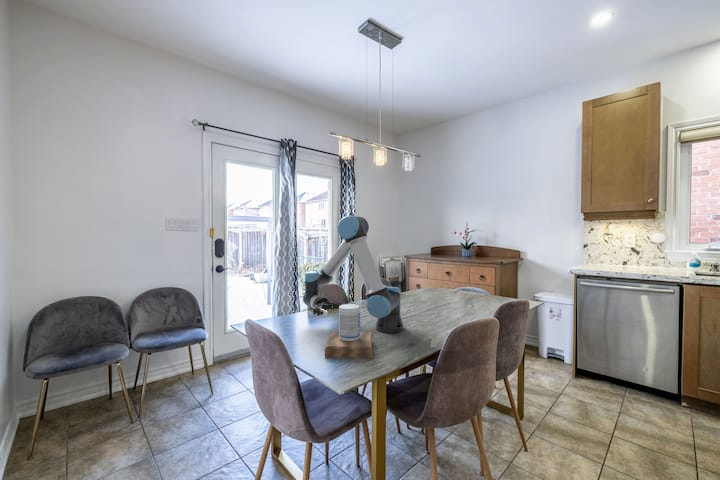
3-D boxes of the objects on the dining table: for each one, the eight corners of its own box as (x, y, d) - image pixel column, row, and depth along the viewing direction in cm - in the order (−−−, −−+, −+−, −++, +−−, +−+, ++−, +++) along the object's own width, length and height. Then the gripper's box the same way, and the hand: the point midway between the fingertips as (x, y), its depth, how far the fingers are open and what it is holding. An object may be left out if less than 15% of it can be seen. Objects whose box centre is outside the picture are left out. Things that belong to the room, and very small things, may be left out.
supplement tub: (363, 340, 137) (363, 307, 136) (342, 343, 133) (342, 309, 132) (355, 333, 146) (355, 302, 145) (336, 336, 142) (336, 304, 142)
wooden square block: (371, 341, 149) (371, 331, 149) (372, 358, 129) (372, 347, 129) (330, 341, 150) (330, 331, 149) (324, 358, 130) (324, 346, 129)
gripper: (340, 307, 171) (361, 315, 153) (297, 313, 157) (315, 324, 139) (340, 293, 171) (361, 300, 153) (297, 299, 157) (315, 308, 139)
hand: (339, 312), depth 146 cm, fingers open, 13 cm apart
